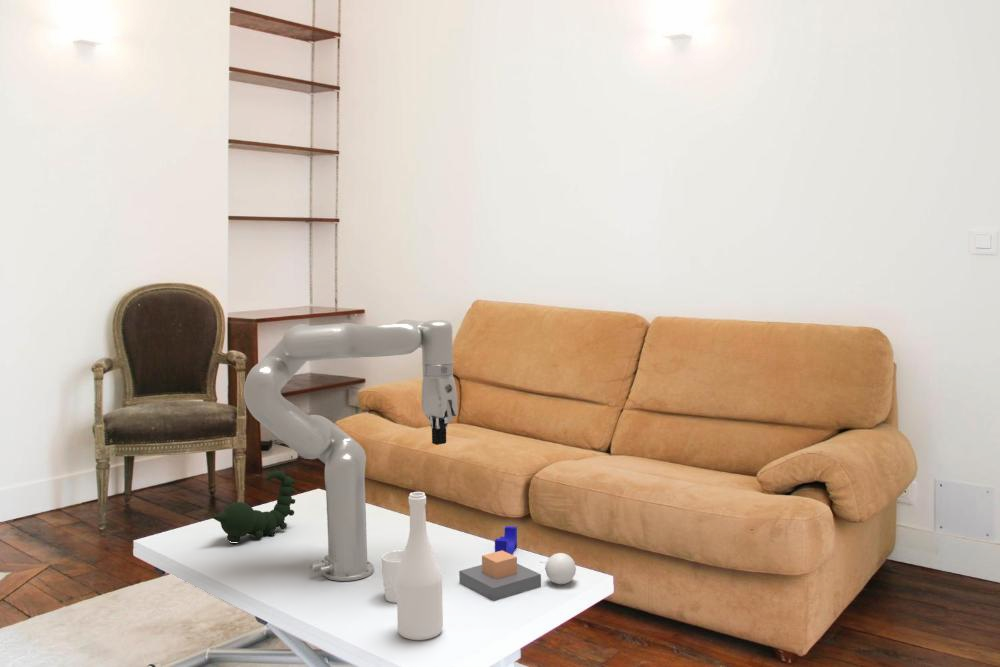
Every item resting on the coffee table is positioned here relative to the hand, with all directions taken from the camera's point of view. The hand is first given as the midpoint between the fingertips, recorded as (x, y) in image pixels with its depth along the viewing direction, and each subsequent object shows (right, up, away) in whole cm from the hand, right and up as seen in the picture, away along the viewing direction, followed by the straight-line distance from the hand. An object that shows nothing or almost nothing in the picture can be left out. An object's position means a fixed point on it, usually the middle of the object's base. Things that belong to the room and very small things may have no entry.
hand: (439, 443), depth 228 cm
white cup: (-8, -34, -15) cm, 38 cm away
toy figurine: (-54, -30, +29) cm, 68 cm away
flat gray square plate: (+15, -33, -8) cm, 37 cm away
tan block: (+15, -33, -8) cm, 37 cm away
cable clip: (+16, -31, +13) cm, 37 cm away
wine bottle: (-2, -36, -34) cm, 50 cm away
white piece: (+29, -33, -7) cm, 44 cm away
